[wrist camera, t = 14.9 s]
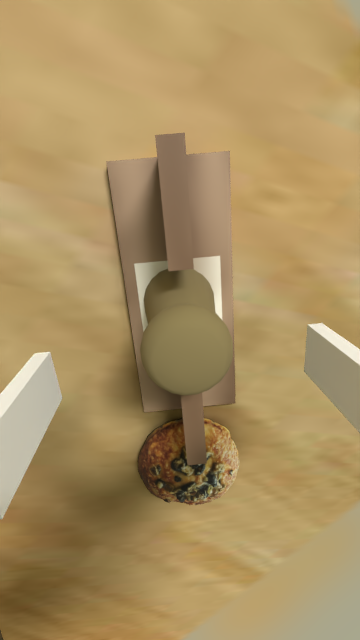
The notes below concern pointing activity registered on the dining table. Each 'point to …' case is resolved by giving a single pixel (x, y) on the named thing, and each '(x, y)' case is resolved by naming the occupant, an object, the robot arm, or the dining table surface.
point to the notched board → (176, 254)
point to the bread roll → (188, 480)
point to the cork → (184, 334)
